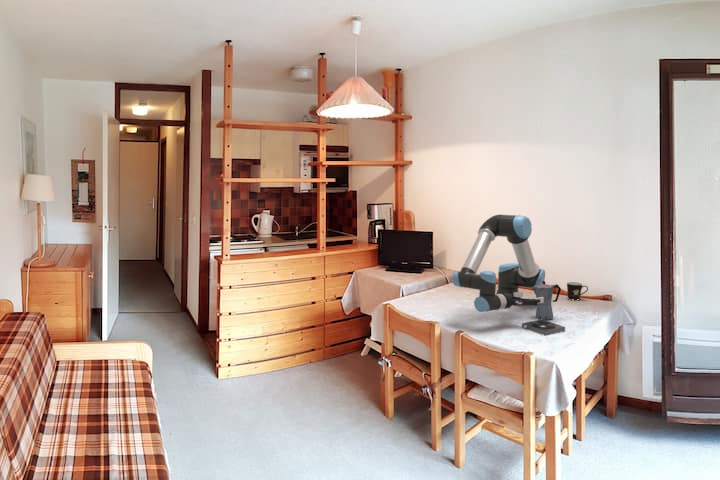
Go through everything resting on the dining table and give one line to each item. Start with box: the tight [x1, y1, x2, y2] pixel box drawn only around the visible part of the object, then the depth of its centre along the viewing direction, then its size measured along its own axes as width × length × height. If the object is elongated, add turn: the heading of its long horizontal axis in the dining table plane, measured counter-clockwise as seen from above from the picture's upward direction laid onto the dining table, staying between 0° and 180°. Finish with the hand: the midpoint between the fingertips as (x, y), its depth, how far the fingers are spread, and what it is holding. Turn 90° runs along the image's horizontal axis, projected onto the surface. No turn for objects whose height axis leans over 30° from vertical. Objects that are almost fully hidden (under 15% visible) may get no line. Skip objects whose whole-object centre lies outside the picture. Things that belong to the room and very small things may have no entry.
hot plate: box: [521, 319, 566, 336], centre depth 228 cm, size 15×14×2 cm
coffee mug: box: [566, 281, 589, 300], centre depth 285 cm, size 12×9×10 cm
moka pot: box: [531, 280, 562, 321], centre depth 246 cm, size 10×15×20 cm, turn 95°
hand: (532, 296), depth 241 cm, fingers open, 13 cm apart
